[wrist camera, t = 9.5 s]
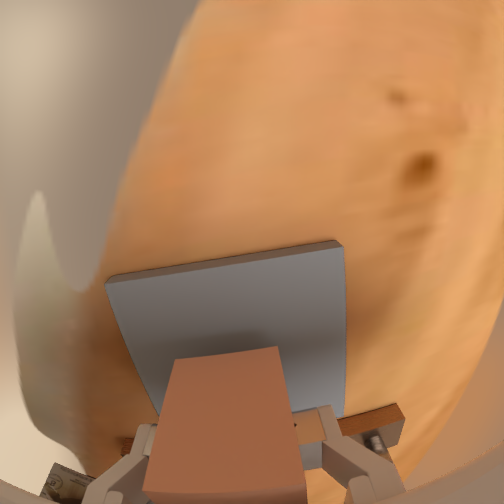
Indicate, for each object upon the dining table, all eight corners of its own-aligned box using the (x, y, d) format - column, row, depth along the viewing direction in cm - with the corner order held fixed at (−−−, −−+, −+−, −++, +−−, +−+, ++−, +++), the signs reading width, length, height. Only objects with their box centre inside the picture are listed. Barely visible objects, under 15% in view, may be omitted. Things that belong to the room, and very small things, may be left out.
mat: (339, 404, 16) (343, 416, 15) (173, 425, 16) (170, 437, 15) (336, 240, 13) (343, 246, 12) (112, 275, 13) (103, 284, 12)
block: (287, 414, 12) (308, 528, 6) (200, 424, 12) (190, 536, 6) (277, 345, 11) (306, 482, 5) (175, 359, 11) (141, 490, 5)
